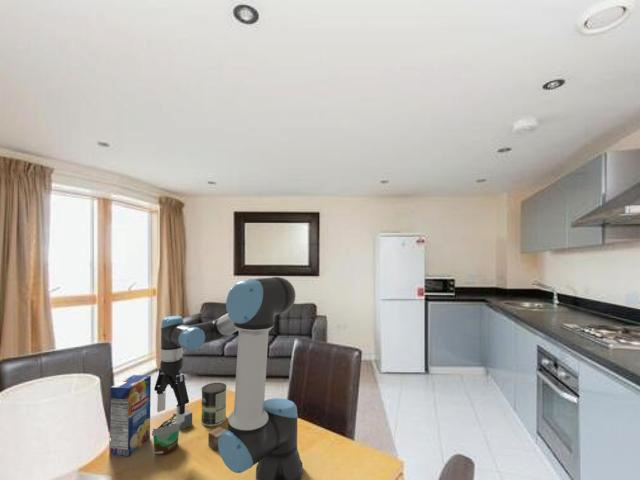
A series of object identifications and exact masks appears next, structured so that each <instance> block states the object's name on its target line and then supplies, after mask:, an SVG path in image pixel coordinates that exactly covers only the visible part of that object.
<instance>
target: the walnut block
mask: <svg viewBox="0 0 640 480" xmlns="http://www.w3.org/2000/svg"><path fill="white" fill-rule="evenodd" d="M226 430H227V429H225V428H223V427H221V426H218V427H216V428H215V429H212V430H211V431H209V432H208V447H209V448H211V449H212V450H214V451H219V449H218V438H219V436H220V434H221V433H222V432H223V431H226Z"/></svg>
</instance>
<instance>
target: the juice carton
mask: <svg viewBox="0 0 640 480" xmlns="http://www.w3.org/2000/svg"><path fill="white" fill-rule="evenodd" d="M151 378H152V375H144V374H143V375H140V374H138V375H137V374H132V375H131V376H128V377H127V378H125V379H124V380H121V381H120V382H117V383H116V384H114V385H112V386H110V393H109V394H110V397H109V398H110V400H109V401H110V403H109V407H110V408H109V409H110V410H109V439H110V438H111V441H110V440H109V444H108V445H109V448H108V449H109V450H108V451H109V452H108V453H109V456H115V457H124V458H125V457H126V458H128V457H130V456H131V455H132V454H134V453H135V451H137V450H138V449H139V448H140V447H141V446H142V445H144V444H145V443H146V442H147V441H149V440H150V439H151V395H152V393H151V389H152V387H151V386H152V385H151V384H152V383H151V382H152V379H151Z"/></svg>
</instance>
